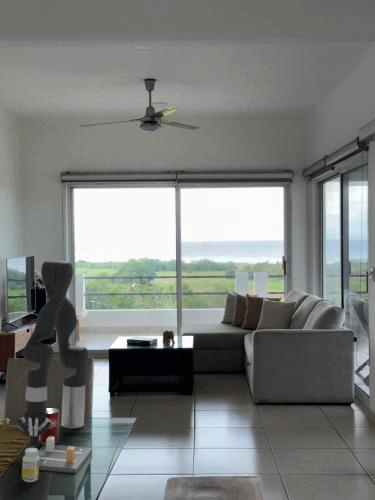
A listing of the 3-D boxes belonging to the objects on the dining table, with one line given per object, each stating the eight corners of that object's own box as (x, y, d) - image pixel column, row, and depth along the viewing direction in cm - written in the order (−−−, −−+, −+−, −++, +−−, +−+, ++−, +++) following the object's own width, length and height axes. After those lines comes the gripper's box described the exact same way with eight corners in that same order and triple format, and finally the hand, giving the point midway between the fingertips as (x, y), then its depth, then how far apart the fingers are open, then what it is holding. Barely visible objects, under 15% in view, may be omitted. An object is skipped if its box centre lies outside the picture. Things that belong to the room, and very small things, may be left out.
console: (44, 448, 221) (45, 443, 221) (91, 452, 219) (92, 447, 219) (24, 468, 201) (24, 463, 201) (76, 473, 199) (76, 468, 199)
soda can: (53, 445, 223) (54, 414, 223) (35, 443, 225) (37, 412, 225) (61, 439, 231) (62, 409, 230) (44, 437, 232) (45, 407, 232)
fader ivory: (49, 448, 216) (49, 435, 216) (54, 448, 216) (54, 436, 216) (45, 451, 213) (46, 439, 213) (51, 452, 212) (51, 439, 212)
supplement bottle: (27, 484, 188) (29, 454, 188) (18, 479, 192) (19, 449, 192) (42, 479, 193) (43, 450, 192) (32, 474, 196) (33, 445, 196)
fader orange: (68, 458, 207) (69, 445, 207) (74, 459, 207) (75, 446, 207) (65, 462, 204) (66, 449, 204) (71, 462, 203) (72, 449, 203)
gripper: (57, 396, 218) (55, 443, 218) (22, 394, 219) (20, 440, 219) (50, 402, 210) (48, 450, 210) (14, 399, 211) (12, 447, 212)
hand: (34, 445), depth 215 cm, fingers closed
